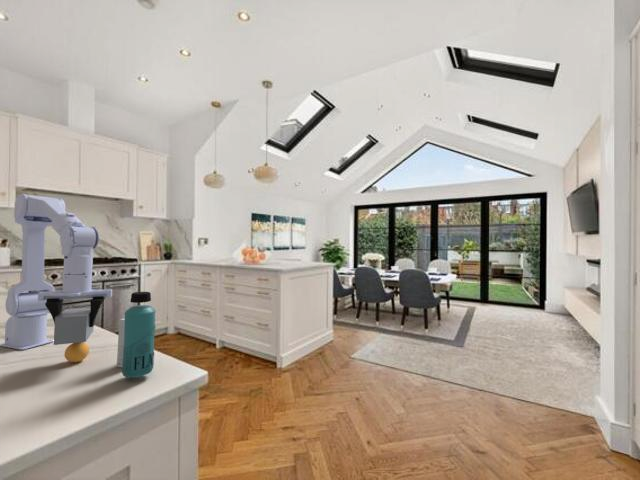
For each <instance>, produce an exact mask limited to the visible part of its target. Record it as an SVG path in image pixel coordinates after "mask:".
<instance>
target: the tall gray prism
mask: <svg viewBox="0 0 640 480" xmlns="http://www.w3.org/2000/svg"><path fill="white" fill-rule="evenodd" d="M90 315H91V307H80V308H66V309H64V310H62V313H60V314H59V315H58V316H56V317H55V324H54V328H53V329H54V330H53V340H54V342H53V345H54V346H57V345H58V346H59V345H70V344H73V343H79V342H84V343H87V341H88V340H89V338H90V336H91V335H92V334H93V332H94V326H95V325H94V326H93V327H89V323H90Z"/></svg>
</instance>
